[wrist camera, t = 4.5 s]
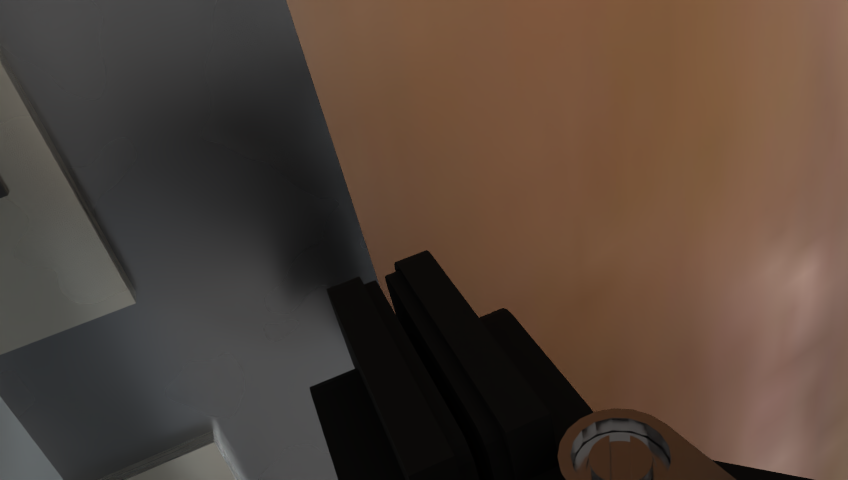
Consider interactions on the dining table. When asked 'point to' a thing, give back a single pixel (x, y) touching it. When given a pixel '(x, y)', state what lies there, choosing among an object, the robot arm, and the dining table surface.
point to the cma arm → (21, 452)
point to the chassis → (169, 239)
